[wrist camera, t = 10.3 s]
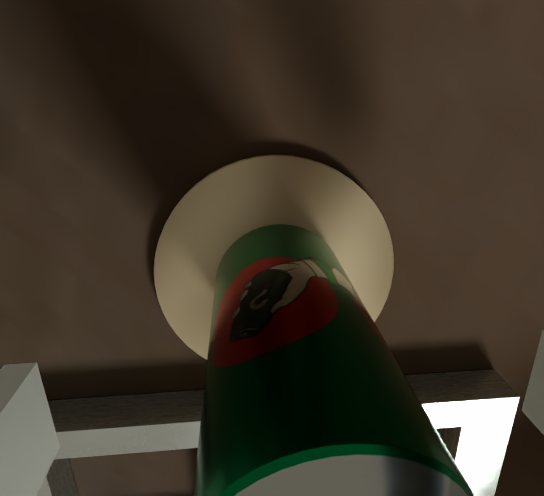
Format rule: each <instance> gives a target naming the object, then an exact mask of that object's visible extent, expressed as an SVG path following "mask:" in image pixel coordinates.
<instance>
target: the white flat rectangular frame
mask: <svg viewBox="0 0 544 496" xmlns="http://www.w3.org/2000/svg"><path fill="white" fill-rule="evenodd" d="M405 376H406V378H407V380H408V382H409V383H410V385H411V387H412V388H413V390H414V392H415V394H416V395H417V397H418V399H419V401H420V402H421V404H422V406H423V407H424V409H425V411H426V413H427V414H428V416H429V418H430V420H431V421H432V423H433V425H434V426H435V428H437V432H438V433H439V435H440V437H441V438H442V440H443V442H444V444H445V445H446V447H447V449H448V451H449V452H450V454H451V456H452V457H453V459H454V461H455V463H456V464H457V466H458V468H459V470H460V471H461V473H462V475H463V476H464V478H465V480H466V482H467V483H468V485H469V487H470V488H471V491H472V493H473V495H474V496H494V495H495V491H496V487H497V483H498V479H499V475H500V471H501V467H502V464H503V460H504V456H505V452H506V448H507V444H508V440H509V436H510V433H511V429H512V425H513V421H514V417H515V413H516V409H517V405H518V402H519V398H520V397H519V396H518V394H517V393H516V392H515V391H514V390H513V389H512V388H511V387H510V386H509V385H508V384H507V383H506V381H505V380H504V379H503V378H502V377H501V376H500V375H499V374H498V373H497V372H496V371H495V369H487V370H473V371H459V372H445V373H431V374H417V375H405ZM203 394H204V390H192V391H178V392H164V393H150V394H135V395H121V396H107V397H93V398H79V399H65V400H51V401H48V405H49V409H50V412H51V416H52V420H53V423H54V427H55V430H56V434H57V438H58V441H59V445H60V448H59V450H58V452H57V454H56V456H55V458H54V460H53V462H52V464H51V467H50V469H49V471H48V473H47V475H46V477H45V479H44V481H43V483H42V485H41V487H40V489H39V491H38V493H37V495H36V496H79V495H78V492H77V488H76V484H75V481H74V477H73V473H72V469H71V466H70V462H69V458H77V457H90V456H102V455H114V454H127V453H139V452H151V451H164V450H176V449H188V448H198V442H199V432H200V423H201V413H202V404H203Z"/></svg>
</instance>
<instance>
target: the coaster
mask: <svg viewBox="0 0 544 496" xmlns="http://www.w3.org/2000/svg"><path fill="white" fill-rule="evenodd" d="M274 224H287V225H294V226H298V227H302V228H305V229H307V230H309V231H311V232H313V233H315V234H316V235H318V236H319V237H321V238H322V239H323V240H324V241H325V242H326V243H327V244H328V245H329V247H330V248H331V249H332V251H333V252H334V254H335V256H336V257H337V259H338V261H339V263H340V264H341V266H342V268H343V269H344V271H345V273H346V275H347V276H348V278H349V280H350V282H351V283H352V285H353V287H354V288H355V290H356V292H357V294H358V295H359V297H360V299H361V301H362V302H363V304H364V306H365V307H366V309H367V311H368V313H369V314H370V316H371V318H372V319H373V321H374V322H375V320H376V319H377V317H378V316H379V314H380V312H381V310H382V308H383V306H384V304H385V302H386V300H387V297H388V294H389V290H390V287H391V283H392V277H393V265H394V256H393V247H392V241H391V237H390V234H389V230H388V228H387V225H386V223H385V220H384V218H383V216H382V214H381V213H380V211H379V209H378V208H377V206H376V205H375V203H374V202H373V201H372V200H371V198H370V197H369V196H368V195H367V194H366V192H365V191H364V190H362V189H361V188H360V187H359V186H358V185H357V184H356V183H355V182H353V181H352V180H351V179H350V178H348V177H347V176H345V175H344V174H342V173H341V172H339V171H338V170H336V169H334V168H332V167H330V166H328V165H326V164H323V163H321V162H318V161H315V160H312V159H308V158H304V157H298V156H293V155H274V154H273V155H263V156H255V157H251V158H246V159H242V160H239V161H236V162H233V163H231V164H228V165H225V166H223V167H221V168H219V169H218V170H216V171H214V172H212V173H210V174H209V175H207V176H206V177H205V178H203V179H202V180H200V181H199V182H198V183H196V184H195V185H194V186H193V187H192V188H191V189H190V190H189V191H188V192H187V193H186V194H185V195H184V196H183V197H182V199H181V200H180V201H179V202H178V204H177V205H176V206H175V208H174V209H173V211H172V213H171V215H170V216H169V218H168V220H167V222H166V224H165V225H164V228H163V230H162V233H161V235H160V238H159V241H158V245H157V249H156V253H155V262H154V281H155V288H156V293H157V298H158V301H159V303H160V306H161V309H162V312H163V313H164V315H165V317H166V319H167V321H168V323H169V325H170V326H171V327H172V329H173V330H174V331H175V333H176V334H177V335H178V336H179V338H180V339H181V340H182V341H183V342H184V343H185V344H186V345H187V346H188V347H190V348H191V349H192V350H193V351H195V352H196V353H197V354H198V355H200V356H202V357H203V358H205V359H207V357H208V347H209V338H210V328H211V319H212V309H213V300H214V290H215V281H216V273H217V269H218V266H219V263H220V261H221V259H222V257H223V255H224V254H225V252H226V251H227V250H228V248H229V247H230V246H231V245H232V244H233V243H234V242H235V241H236V240H237V239H239V238H240V237H241V236H243V235H244V234H246V233H248V232H250V231H252V230H254V229H257V228H260V227H263V226H268V225H274Z"/></svg>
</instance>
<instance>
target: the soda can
mask: <svg viewBox="0 0 544 496" xmlns="http://www.w3.org/2000/svg"><path fill="white" fill-rule="evenodd" d="M193 496H474V495H473V493H472V491H471V488H470V487H469V485H468V483H467V482H466V480H465V478H464V476H463V475H462V473H461V471H460V470H459V468H458V466H457V464H456V463H455V461H454V459H453V457H452V456H451V454H450V452H449V451H448V449H447V447H446V445H445V444H444V442H443V440H442V438H441V437H440V435H439V433H438V432H437V430H436V428H435V426H434V425H433V423H432V421H431V420H430V418H429V416H428V414H427V413H426V411H425V409H424V407H423V406H422V404H421V402H420V401H419V399H418V397H417V395H416V394H415V392H414V390H413V388H412V387H411V385H410V383H409V382H408V380H407V378H406V376H405V375H404V373H403V371H402V369H401V368H400V366H399V364H398V363H397V361H396V359H395V357H394V356H393V354H392V352H391V351H390V349H389V347H388V345H387V344H386V342H385V340H384V338H383V337H382V335H381V333H380V332H379V330H378V328H377V326H376V325H375V323H374V321H373V319H372V318H371V316H370V314H369V313H368V311H367V309H366V307H365V306H364V304H363V302H362V301H361V299H360V297H359V295H358V294H357V292H356V290H355V288H354V287H353V285H352V283H351V282H350V280H349V278H348V276H347V275H346V273H345V271H344V269H343V268H342V266H341V264H340V263H339V261H338V259H337V257H336V256H335V254H334V252H333V251H332V249H331V248H330V247H329V245H328V244H327V243H326V242H325V241H324V240H323V239H322V238H321V237H319V236H318V235H316V234H315V233H313V232H311V231H309V230H307V229H305V228H302V227H298V226H294V225H287V224H274V225H268V226H263V227H260V228H257V229H254V230H252V231H250V232H248V233H246V234H244V235H243V236H241V237H240V238H239V239H237V240H236V241H235V242H234V243H233V244H232V245H231V246H230V247H229V248H228V250H227V251H226V252H225V254H224V255H223V257H222V259H221V261H220V263H219V266H218V269H217V273H216V281H215V290H214V300H213V309H212V319H211V328H210V338H209V347H208V357H207V366H206V375H205V385H204V394H203V404H202V413H201V423H200V432H199V442H198V451H197V460H196V470H195V479H194V489H193Z"/></svg>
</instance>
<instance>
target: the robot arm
mask: <svg viewBox="0 0 544 496" xmlns="http://www.w3.org/2000/svg"><path fill="white" fill-rule="evenodd" d="M522 412H523V413H524V414H525V415H526V416H527V417H528V418H529V419H530V421H531V422H532V423H533V424H534V425H535V426H536V427H537V428H538V430H539V431H540V432H541V433H542V434H543V435H544V330H543V331H542V335H541V338H540V342H539V346H538V350H537V354H536V357H535V361H534V365H533V369H532V373H531V376H530V380H529V384H528V388H527V391H526V395H525V399H524V403H523V407H522ZM59 448H60V445H59V441H58V438H57V434H56V430H55V427H54V423H53V420H52V416H51V412H50V409H49V405H48V401H47V398H46V394H45V391H44V387H43V383H42V380H41V376H40V372H39V369H38V365H37V363H25V364H9V365H4V366H3V367H2V368H1V369H0V496H36V495H37V493H38V491H39V489H40V487H41V485H42V483H43V481H44V479H45V477H46V475H47V473H48V471H49V469H50V467H51V464H52V462H53V460H54V458H55V456H56V454H57V452H58V450H59Z"/></svg>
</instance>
